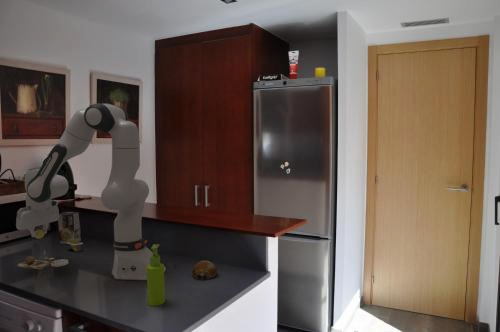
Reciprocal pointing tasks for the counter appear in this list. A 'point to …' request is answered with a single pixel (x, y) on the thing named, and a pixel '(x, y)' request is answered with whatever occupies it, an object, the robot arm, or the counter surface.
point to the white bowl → (59, 263)
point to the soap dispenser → (155, 279)
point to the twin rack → (36, 264)
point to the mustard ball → (39, 234)
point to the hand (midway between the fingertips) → (39, 235)
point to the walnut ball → (29, 260)
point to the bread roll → (204, 270)
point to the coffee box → (69, 226)
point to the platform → (75, 244)
